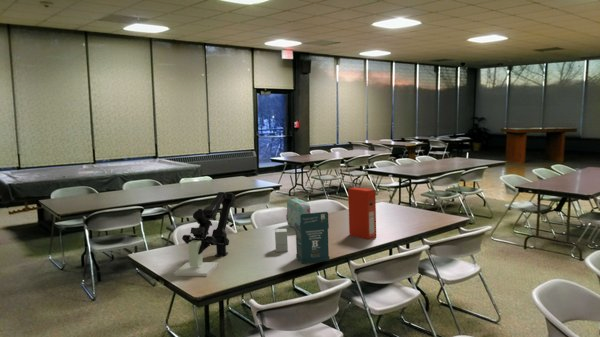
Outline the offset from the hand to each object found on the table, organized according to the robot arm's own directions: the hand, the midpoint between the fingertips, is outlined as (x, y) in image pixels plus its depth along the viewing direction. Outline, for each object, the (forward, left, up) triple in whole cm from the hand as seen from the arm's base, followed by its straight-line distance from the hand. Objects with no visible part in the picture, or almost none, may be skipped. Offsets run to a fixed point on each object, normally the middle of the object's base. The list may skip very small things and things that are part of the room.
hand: (194, 253), depth 241 cm
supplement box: (-39, +40, -10) cm, 57 cm away
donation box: (-24, +60, -10) cm, 66 cm away
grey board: (-1, 0, -9) cm, 10 cm away
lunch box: (-97, +42, -10) cm, 107 cm away
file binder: (-73, +89, -10) cm, 116 cm away
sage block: (-1, 0, -7) cm, 7 cm away
